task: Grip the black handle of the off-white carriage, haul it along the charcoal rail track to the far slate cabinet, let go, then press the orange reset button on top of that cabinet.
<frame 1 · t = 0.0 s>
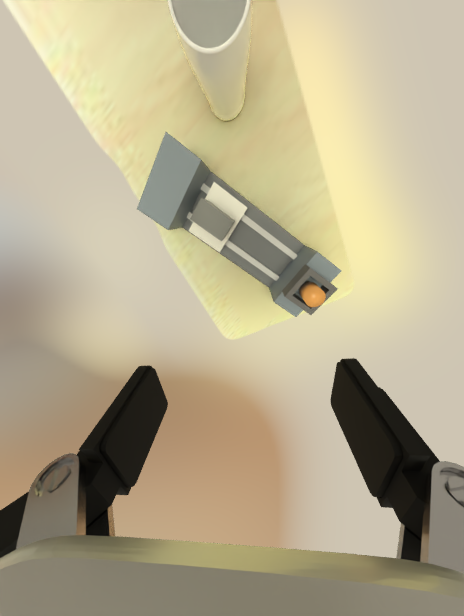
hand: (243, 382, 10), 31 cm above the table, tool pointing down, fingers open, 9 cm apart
drinking glass: (227, 99, 28), on the table
rail track: (243, 235, 36), on the table
carriage: (216, 219, 28), point 7 cm above the table, slide at -5.0 cm
reset button: (311, 294, 27), point 12 cm above the table, slide at 0.0 cm
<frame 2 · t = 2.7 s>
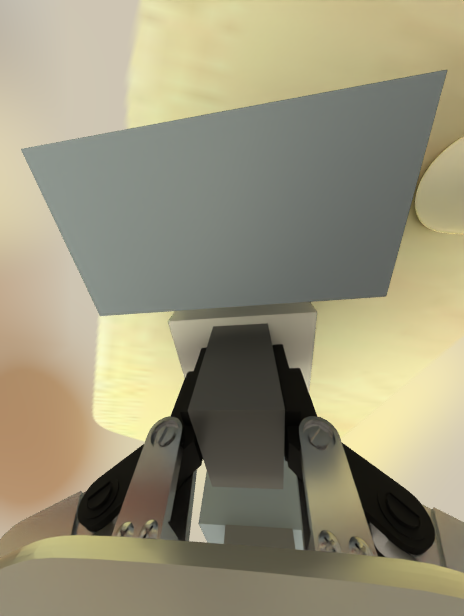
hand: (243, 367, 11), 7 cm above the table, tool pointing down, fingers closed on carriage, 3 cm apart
drinking glass: (454, 186, 12), on the table
rail track: (248, 356, 19), on the table
carriage: (243, 372, 10), point 7 cm above the table, slide at -5.0 cm, touching gripper
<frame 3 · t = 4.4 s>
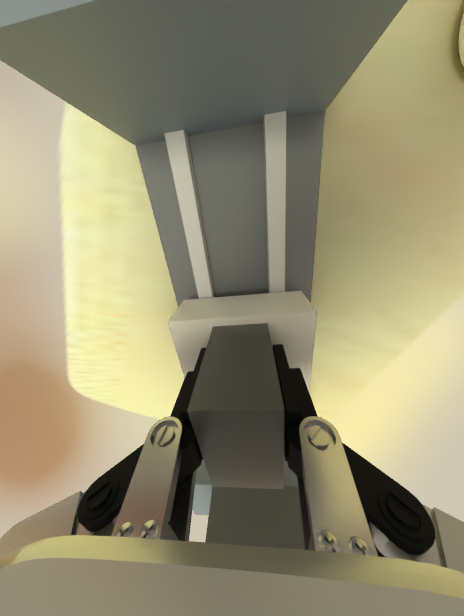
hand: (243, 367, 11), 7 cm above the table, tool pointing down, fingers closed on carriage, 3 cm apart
rail track: (242, 292, 16), on the table
carriage: (243, 372, 10), point 7 cm above the table, slide at 2.0 cm, touching gripper
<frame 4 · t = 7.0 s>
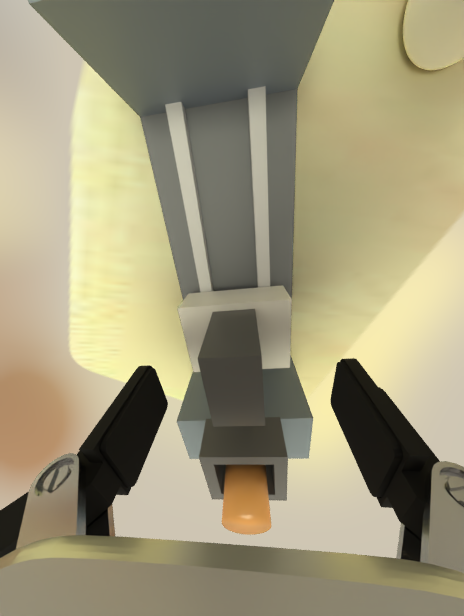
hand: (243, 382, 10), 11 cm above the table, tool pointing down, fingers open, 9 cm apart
drinking glass: (443, 15, 11), on the table
rail track: (233, 258, 18), on the table
carriage: (236, 347, 13), point 7 cm above the table, slide at 5.0 cm
reset button: (245, 490, 12), point 12 cm above the table, slide at 0.0 cm
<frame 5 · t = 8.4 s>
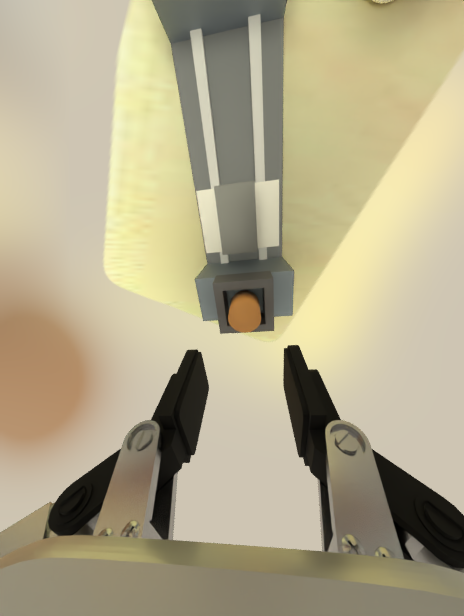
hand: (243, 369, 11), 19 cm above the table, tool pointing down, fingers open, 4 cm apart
rail track: (237, 173, 22), on the table
carriage: (239, 219, 18), point 7 cm above the table, slide at 5.0 cm
reset button: (244, 310, 17), point 12 cm above the table, slide at 0.0 cm
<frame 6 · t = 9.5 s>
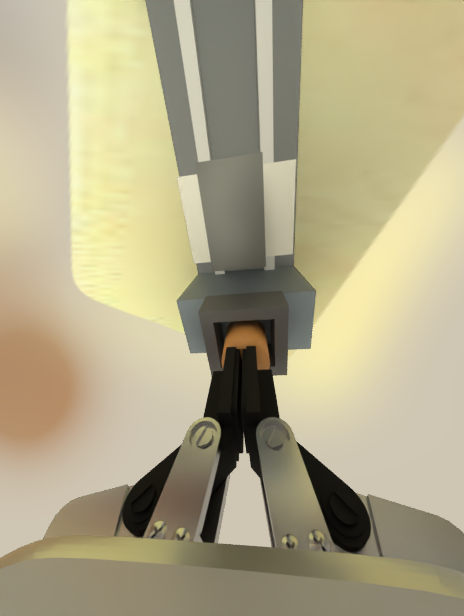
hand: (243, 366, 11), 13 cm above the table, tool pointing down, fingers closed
rail track: (236, 156, 17), on the table
carriage: (237, 218, 13), point 7 cm above the table, slide at 5.0 cm
reset button: (245, 347, 12), point 12 cm above the table, slide at 0.4 cm, touching gripper
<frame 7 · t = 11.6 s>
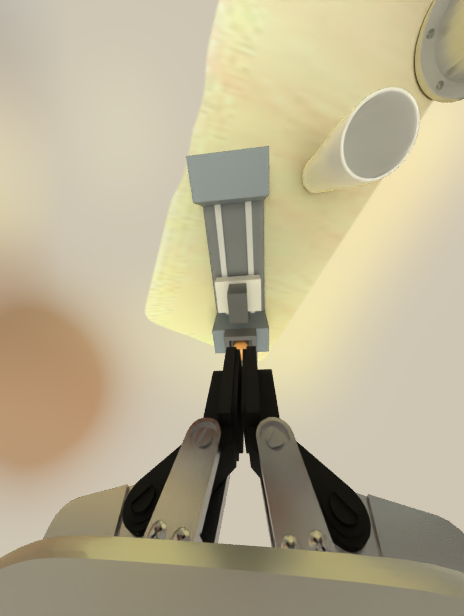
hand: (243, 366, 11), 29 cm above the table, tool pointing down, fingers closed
drinking glass: (317, 175, 30), on the table
rail track: (237, 262, 37), on the table
carriage: (238, 299, 32), point 7 cm above the table, slide at 5.0 cm
reset button: (241, 348, 32), point 11 cm above the table, slide at 1.0 cm
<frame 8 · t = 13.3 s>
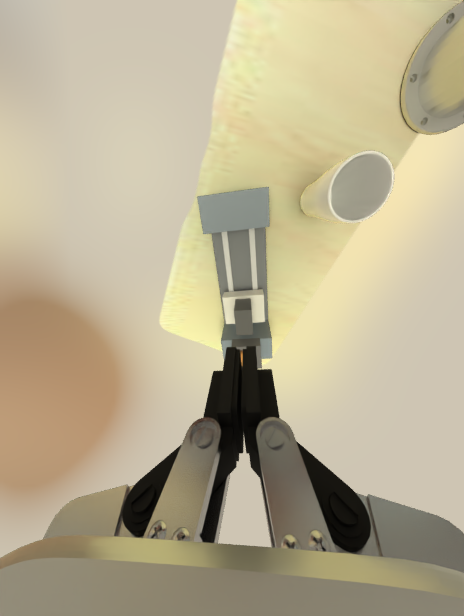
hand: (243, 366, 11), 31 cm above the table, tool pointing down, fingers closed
drinking glass: (314, 200, 33), on the table
rail track: (242, 277, 40), on the table
carriage: (244, 312, 36), point 7 cm above the table, slide at 5.0 cm
reset button: (246, 356, 36), point 11 cm above the table, slide at 1.0 cm
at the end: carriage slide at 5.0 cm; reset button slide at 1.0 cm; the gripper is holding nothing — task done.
